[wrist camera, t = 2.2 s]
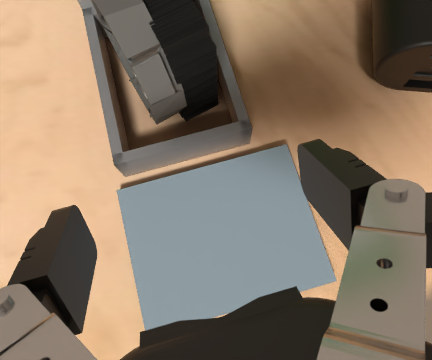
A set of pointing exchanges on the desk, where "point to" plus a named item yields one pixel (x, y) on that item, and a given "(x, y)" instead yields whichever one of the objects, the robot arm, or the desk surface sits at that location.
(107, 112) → the open rectangular frame
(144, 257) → the rubber mat
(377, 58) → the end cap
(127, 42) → the cpu cooler
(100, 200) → the desk surface
